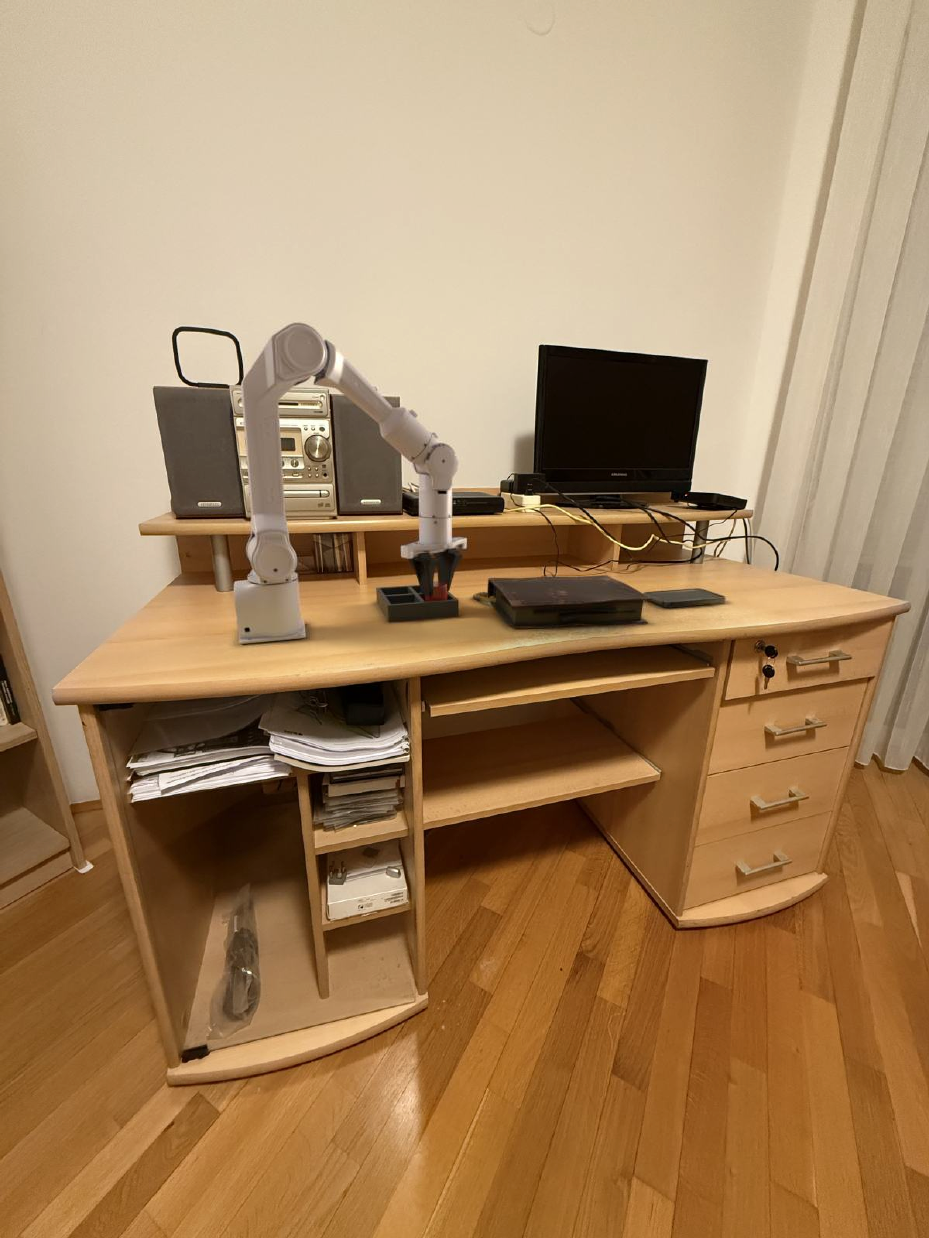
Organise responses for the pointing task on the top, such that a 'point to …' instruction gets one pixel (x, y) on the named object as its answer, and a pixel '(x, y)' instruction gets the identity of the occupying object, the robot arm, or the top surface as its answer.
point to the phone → (685, 597)
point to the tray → (413, 604)
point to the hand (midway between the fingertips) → (435, 592)
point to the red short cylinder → (438, 592)
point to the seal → (484, 598)
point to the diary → (566, 601)
